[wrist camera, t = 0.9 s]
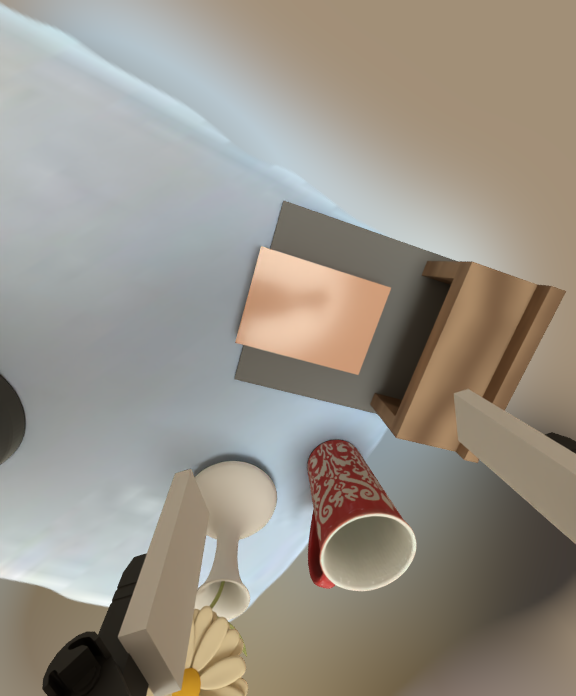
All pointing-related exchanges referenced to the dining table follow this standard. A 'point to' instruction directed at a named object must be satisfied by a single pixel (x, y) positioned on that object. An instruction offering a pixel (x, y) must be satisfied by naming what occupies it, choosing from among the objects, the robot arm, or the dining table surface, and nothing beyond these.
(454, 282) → the grooved wooden block
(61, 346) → the dining table surface
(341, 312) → the tile
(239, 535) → the flower in vase
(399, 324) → the mat
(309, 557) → the mug
